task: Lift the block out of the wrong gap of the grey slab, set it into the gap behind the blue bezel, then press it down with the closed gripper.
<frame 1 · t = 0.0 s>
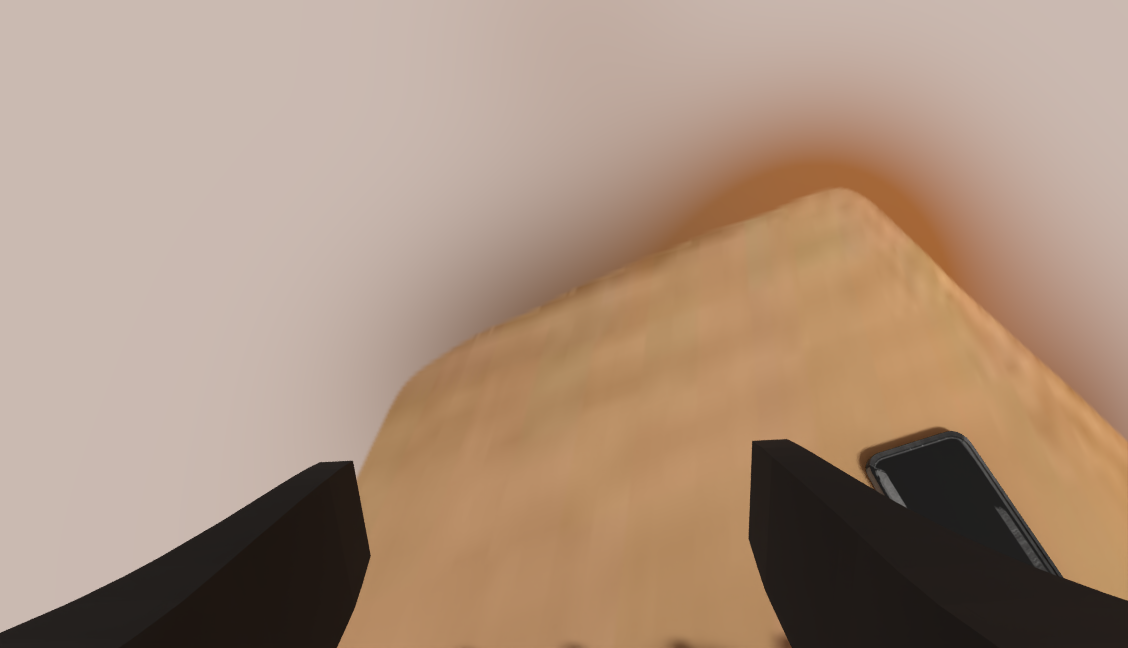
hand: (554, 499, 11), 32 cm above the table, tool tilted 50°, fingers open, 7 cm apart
phone: (968, 550, 40), on the table
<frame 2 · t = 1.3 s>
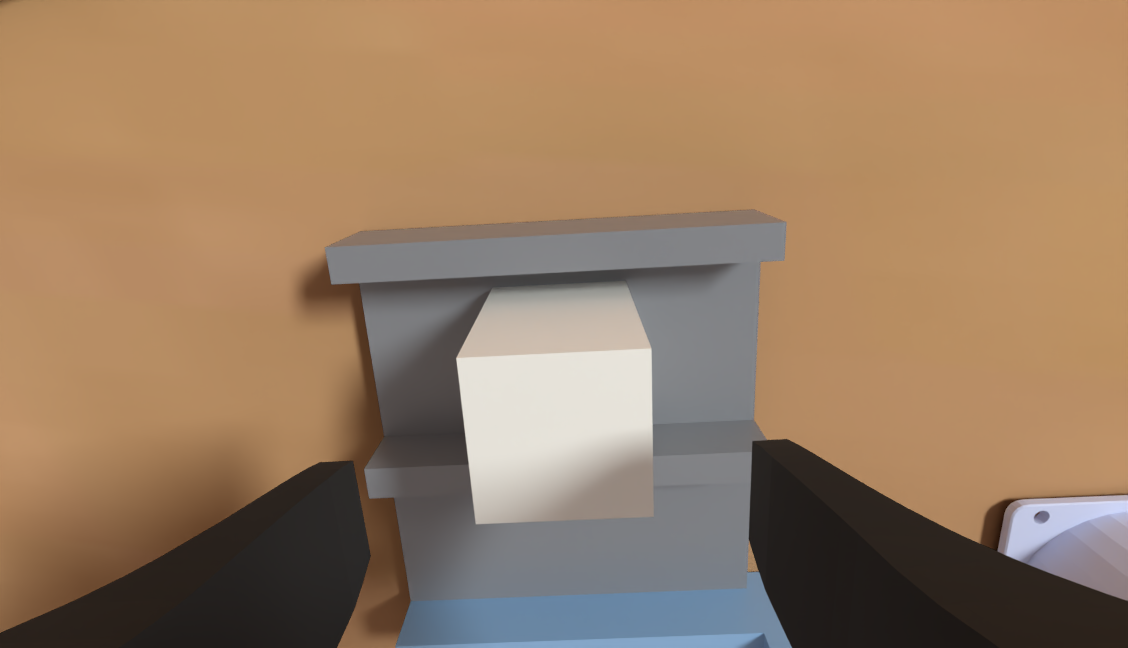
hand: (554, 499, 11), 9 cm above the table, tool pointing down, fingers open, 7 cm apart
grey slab: (573, 514, 21), on the table
block: (562, 347, 19), point 1 cm above the table, touching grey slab
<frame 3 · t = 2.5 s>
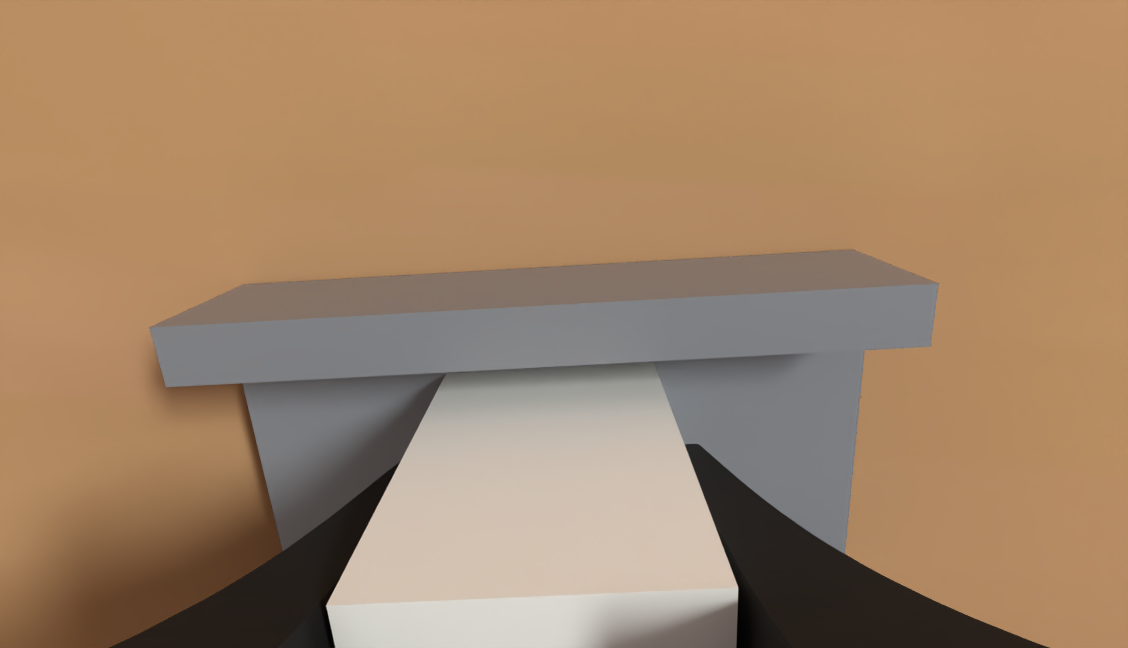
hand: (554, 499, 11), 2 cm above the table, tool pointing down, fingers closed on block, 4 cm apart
block: (556, 459, 12), point 1 cm above the table, touching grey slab, gripper
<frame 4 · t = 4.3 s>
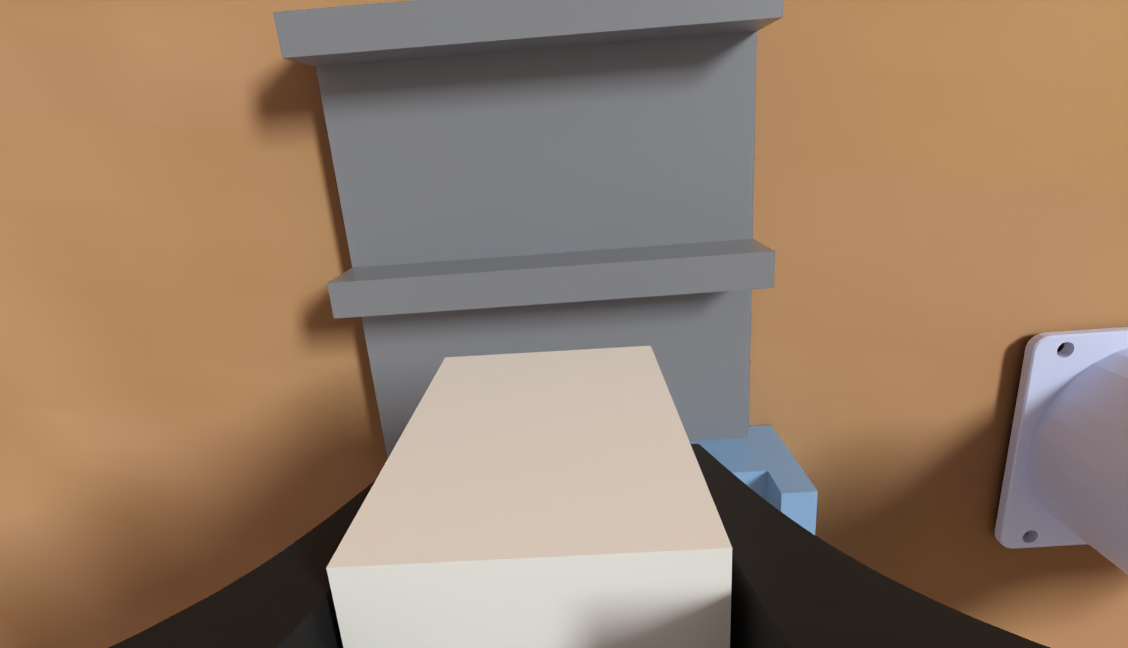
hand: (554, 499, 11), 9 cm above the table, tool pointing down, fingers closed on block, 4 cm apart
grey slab: (560, 362, 20), on the table
block: (554, 443, 12), point 8 cm above the table, touching gripper
when the fingers open (3 cm above the table, at t = 6.3 s): block stays where it is, resting on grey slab.
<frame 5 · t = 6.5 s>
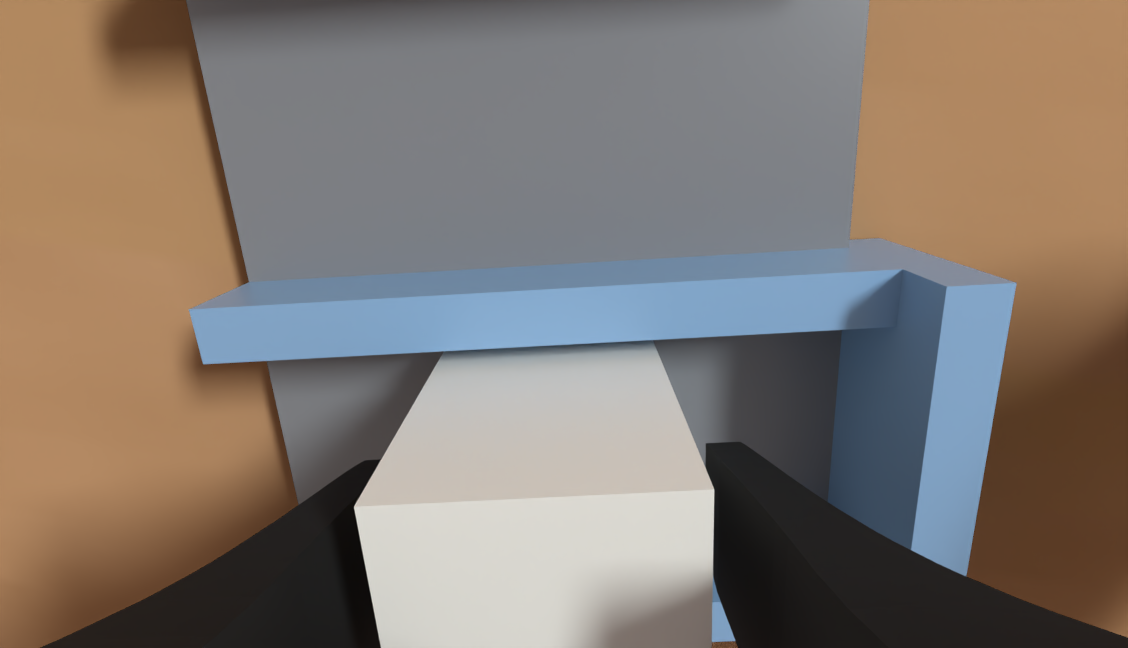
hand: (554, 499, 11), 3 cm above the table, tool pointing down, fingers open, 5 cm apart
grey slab: (536, 118, 12), on the table
block: (555, 417, 13), point 1 cm above the table, touching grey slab
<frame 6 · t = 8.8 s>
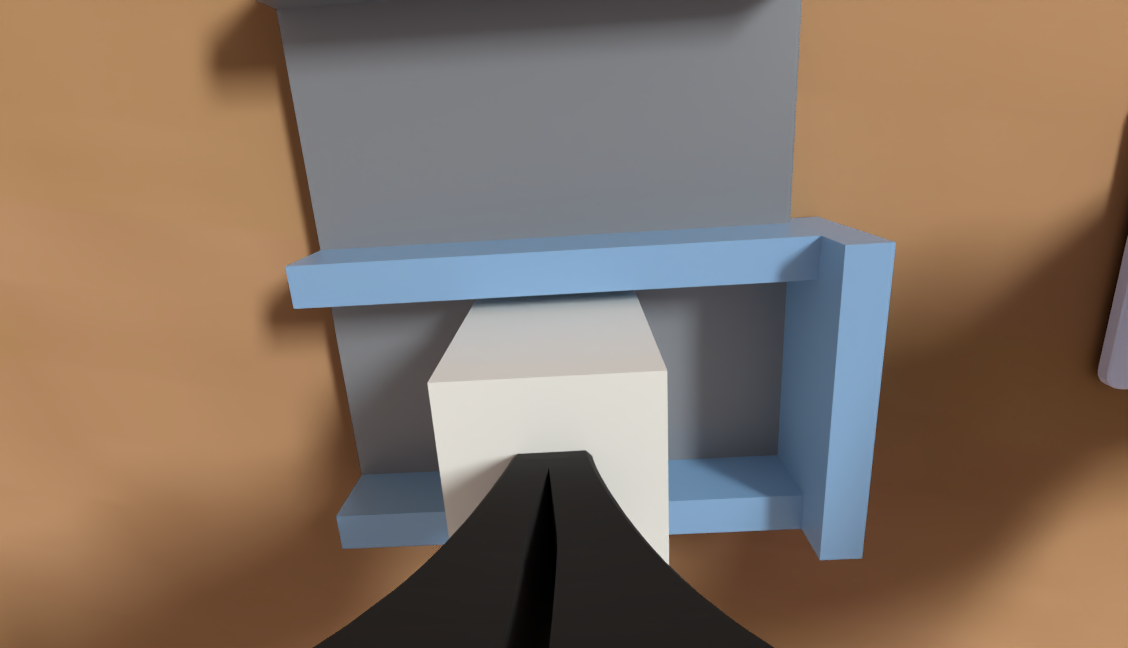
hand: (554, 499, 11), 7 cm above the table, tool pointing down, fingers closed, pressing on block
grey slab: (546, 121, 15), on the table
block: (560, 360, 16), point 1 cm above the table, touching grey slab, gripper
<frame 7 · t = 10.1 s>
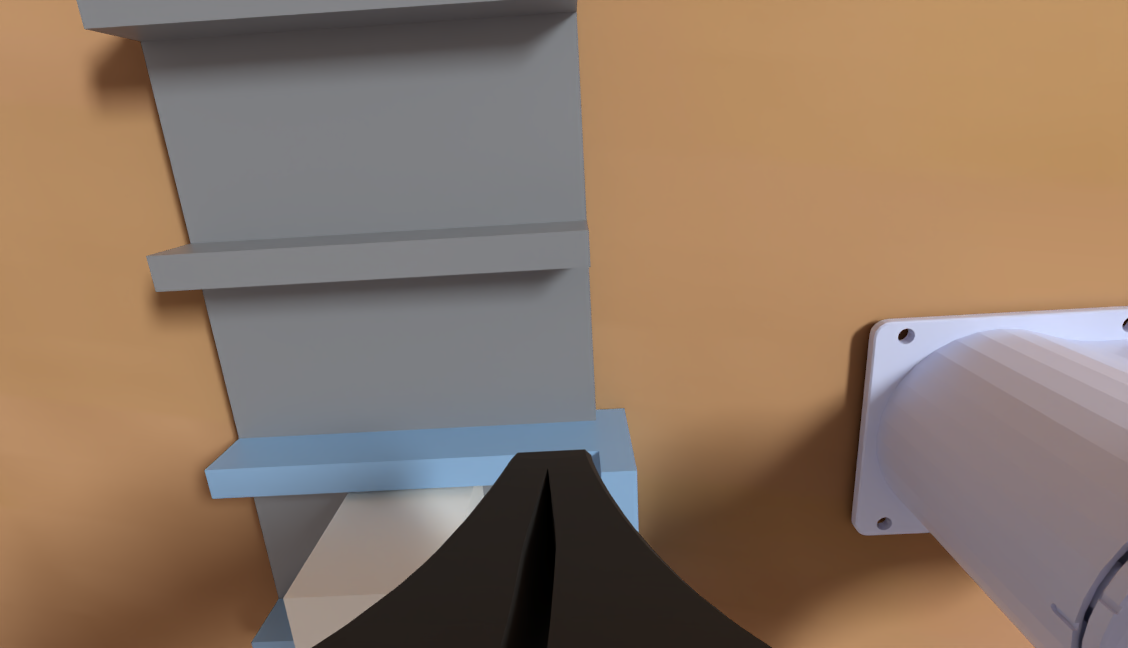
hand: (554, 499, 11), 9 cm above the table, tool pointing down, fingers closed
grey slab: (410, 342, 20), on the table
block: (428, 516, 21), point 1 cm above the table, touching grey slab
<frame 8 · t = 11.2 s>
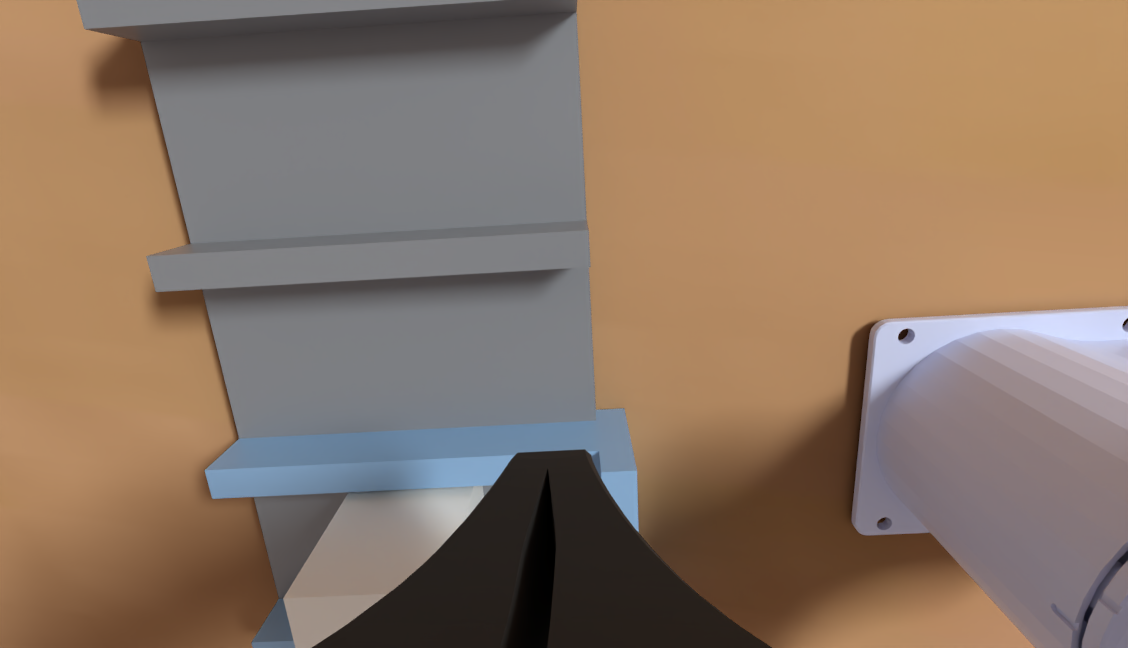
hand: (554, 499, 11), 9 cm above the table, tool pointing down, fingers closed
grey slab: (410, 342, 20), on the table
block: (429, 516, 21), point 1 cm above the table, touching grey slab
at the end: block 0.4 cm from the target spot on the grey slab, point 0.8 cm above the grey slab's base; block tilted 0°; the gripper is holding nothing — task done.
